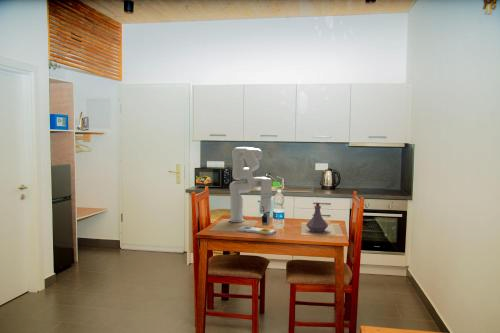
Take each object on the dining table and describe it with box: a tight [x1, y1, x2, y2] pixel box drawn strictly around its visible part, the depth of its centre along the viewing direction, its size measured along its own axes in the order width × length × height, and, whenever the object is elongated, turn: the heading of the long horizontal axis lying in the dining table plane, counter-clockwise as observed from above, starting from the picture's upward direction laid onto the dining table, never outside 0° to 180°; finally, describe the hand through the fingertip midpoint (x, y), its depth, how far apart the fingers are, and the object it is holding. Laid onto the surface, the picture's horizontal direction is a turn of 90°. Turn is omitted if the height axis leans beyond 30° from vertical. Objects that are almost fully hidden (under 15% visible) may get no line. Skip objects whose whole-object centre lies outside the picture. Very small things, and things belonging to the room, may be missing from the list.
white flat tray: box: [236, 225, 277, 236], centre depth 278 cm, size 9×26×2 cm, turn 64°
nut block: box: [261, 213, 271, 227], centre depth 275 cm, size 4×4×8 cm
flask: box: [305, 202, 329, 233], centre depth 282 cm, size 16×16×20 cm
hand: (265, 221), depth 275 cm, fingers closed on nut block, 4 cm apart
